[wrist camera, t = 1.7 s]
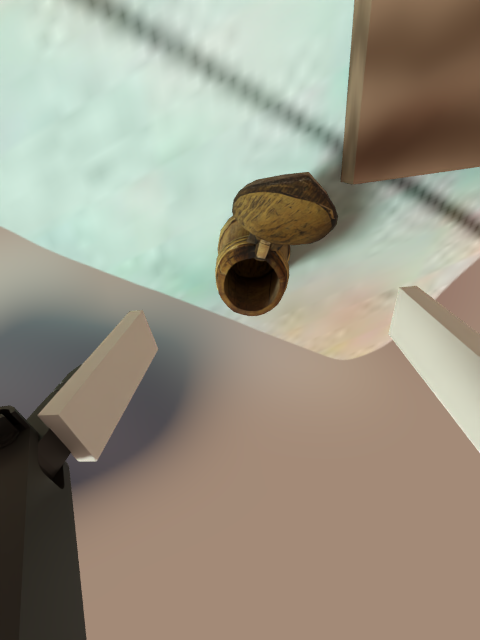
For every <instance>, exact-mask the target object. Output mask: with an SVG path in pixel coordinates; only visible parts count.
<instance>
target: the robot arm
mask: <svg viewBox="0 0 480 640" xmlns="http://www.w3.org/2000/svg"><path fill="white" fill-rule="evenodd" d="M389 335H390V337H391V338H392V339H393V341H394V342H395V343H396V345H397V346H398V347H399V348H400V350H401V351H402V352H403V353H404V355H405V356H406V358H407V359H408V360H409V361H410V363H411V364H412V365H413V367H414V368H415V369H416V371H417V372H418V373H419V374H420V376H421V377H422V378H423V380H424V381H425V382H426V384H427V385H428V386H429V387H430V389H431V390H432V391H433V393H434V394H435V395H436V396H437V398H438V399H439V400H440V402H441V403H442V404H443V406H444V407H445V408H446V410H447V411H448V412H449V413H450V415H451V416H452V417H453V419H454V420H455V421H456V423H457V424H458V425H459V427H461V429H462V430H463V432H464V433H465V434H466V436H467V437H468V438H469V440H470V441H471V442H472V443H473V445H474V446H475V447H476V449H477V450H478V451H479V452H480V334H479V333H477V332H476V331H475V330H473V329H472V328H471V327H469V326H468V325H467V324H466V323H464V322H463V321H462V320H460V319H459V318H458V317H456V316H455V315H454V314H452V313H451V312H450V311H449V310H447V309H446V308H445V307H443V306H442V305H441V304H439V303H438V302H437V301H435V300H434V299H433V298H432V297H430V296H429V295H428V294H426V293H425V292H424V291H422V290H421V289H420V288H418V287H417V286H411V287H400V288H399V291H398V295H397V300H396V304H395V308H394V312H393V317H392V321H391V325H390V330H389ZM157 350H158V348H157V345H156V343H155V340H154V337H153V335H152V332H151V330H150V327H149V325H148V323H147V320H146V317H145V315H144V312H143V310H138V311H130V312H129V313H128V314H127V315H126V316H125V317H124V318H123V319H122V320H121V322H120V323H119V324H118V325H117V326H116V327H115V328H114V329H113V331H112V332H111V333H110V334H109V335H108V336H107V337H106V338H105V340H104V341H103V342H102V343H101V344H100V345H99V347H97V349H96V350H95V351H94V352H93V353H92V354H91V355H90V356H89V358H88V359H87V360H86V361H85V362H84V363H83V364H82V365H80V366H78V367H77V368H75V369H74V370H73V371H71V372H70V373H69V374H68V375H67V376H66V377H65V378H64V379H63V381H62V382H61V384H59V385H58V386H57V387H56V388H55V389H54V392H52V393H51V394H50V395H49V396H48V397H47V398H46V399H45V400H44V401H43V402H42V403H41V405H40V406H39V407H38V408H37V409H36V410H35V411H34V412H33V413H32V415H31V416H30V417H29V418H28V419H27V420H26V419H25V418H24V417H23V416H22V415H21V414H20V413H19V412H18V411H17V410H16V409H15V408H14V407H12V406H2V407H0V640H86V631H85V621H84V611H83V601H82V591H81V581H80V571H79V561H78V551H77V541H76V532H75V521H74V512H73V501H72V492H71V481H70V472H69V466H68V464H67V462H66V461H65V460H66V459H67V457H68V456H69V454H70V453H72V455H73V456H74V457H75V458H76V459H77V460H78V461H97V460H98V458H99V456H100V455H101V453H102V451H103V449H104V447H105V445H106V443H107V442H108V440H109V438H110V436H111V434H112V433H113V431H114V429H115V427H116V425H117V423H118V422H119V420H120V418H121V416H122V414H123V412H124V411H125V409H126V407H127V405H128V403H129V402H130V399H131V398H132V396H133V394H134V392H135V391H136V389H137V387H138V385H139V383H140V381H141V380H142V378H143V376H144V374H145V372H146V371H147V369H148V367H149V365H150V363H151V361H152V360H153V358H154V356H155V354H156V352H157Z"/></svg>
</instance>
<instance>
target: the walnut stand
mask: <svg viewBox="0 0 480 640" xmlns="http://www.w3.org/2000/svg"><path fill="white" fill-rule="evenodd" d="M474 167H480V0H355V2H354V15H353V28H352V41H351V54H350V67H349V80H348V93H347V106H346V119H345V132H344V145H343V158H342V171H341V182H344V183H349V184H360V183H367V182H374V181H382V180H389V179H396V178H403V177H410V176H417V175H424V174H431V173H438V172H445V171H452V170H459V169H467V168H474Z"/></svg>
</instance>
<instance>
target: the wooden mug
mask: <svg viewBox="0 0 480 640" xmlns="http://www.w3.org/2000/svg"><path fill="white" fill-rule="evenodd" d="M232 213H233V216H232V217H231V218H229V220H228V221H227V222H226V224H225V225H224V227H223V228H222V229H221V233H220V238H219V244H218V257H217V262H216V270H215V271H216V285H217V289H218V291H219V295H220V296H221V298H222V300H223V301H224V302H225V304H226V305H227V306H228V307H229V308H230V309H231V310H233V311H234V312H236V313H239V314H243V315H247V316H258V315H262V314H265V313H266V312H268V311H270V310H272V309H273V308H274V307H275V306H277V304H278V303H279V301H280V300H281V298H282V296H283V294H284V292H285V290H286V288H287V283H288V279H289V264H288V261H289V257H290V245H300V244H310V243H313V242H316V241H319V240H320V239H322V238H324V237H325V236H326V235H327V234H328V233H329V232H330V231H332V230H333V228H334V227H335V226H336V224H337V219H338V215H337V212H336V209H335V206H334V205H333V203H332V202H331V200H330V198H329V196H328V194H327V192H326V191H325V190H324V189H323V188H322V186H321V185H320V184H319V183H318V182H317V181H316V180H315V179H314V178H313V176H312V175H311V174H310V173H309V172H304V173H294V174H285V175H279V176H274V177H269V178H264V179H258V180H255V181H253V182H251V183H249V184H247V185H246V186H245V187H244V188H242V189H241V190H240V191H239V192H238V194H237V195H236V197H235V198H234V202H233V209H232Z"/></svg>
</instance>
